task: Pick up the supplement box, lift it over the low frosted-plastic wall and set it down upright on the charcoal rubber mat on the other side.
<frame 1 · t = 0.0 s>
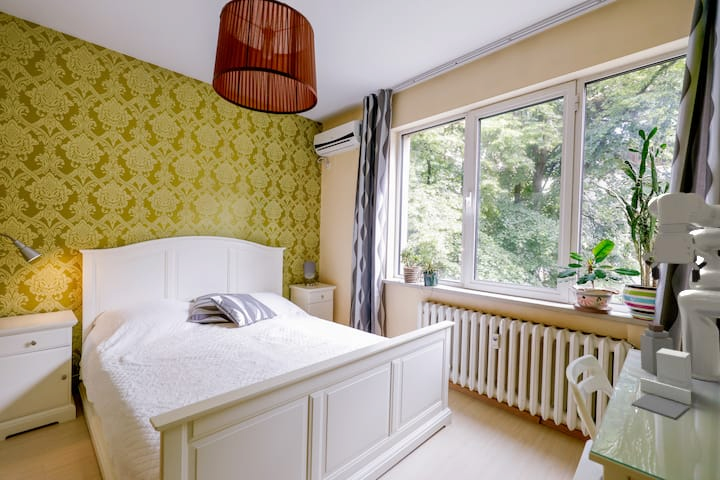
hand: (675, 280, 109), 37 cm above the table, tool pointing down, fingers open, 9 cm apart
frosted wall: (664, 396, 105), on the table
supplement box: (674, 390, 109), on the table
charcoal mat: (660, 406, 99), on the table
perfume bottle: (657, 372, 125), on the table
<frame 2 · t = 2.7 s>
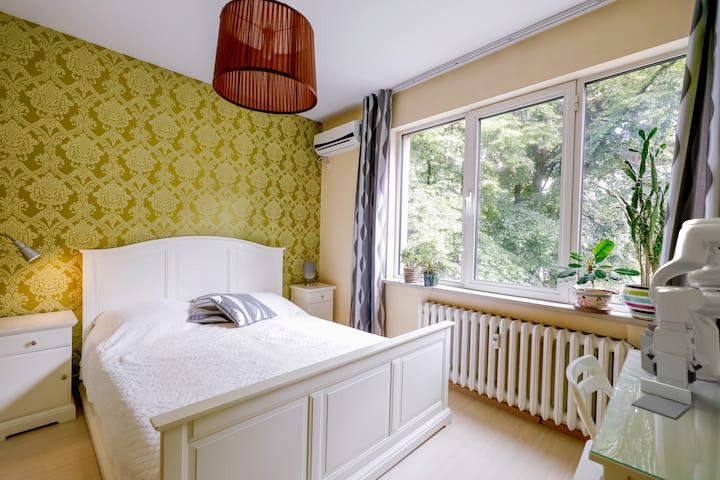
hand: (674, 378, 109), 4 cm above the table, tool pointing down, fingers closed on supplement box, 7 cm apart
supplement box: (674, 390, 109), on the table, touching gripper
everything else where it was.
when the fingers open (6 cm above the table, at t = 9.5 s): supplement box drops 2 cm, resting on charcoal mat.
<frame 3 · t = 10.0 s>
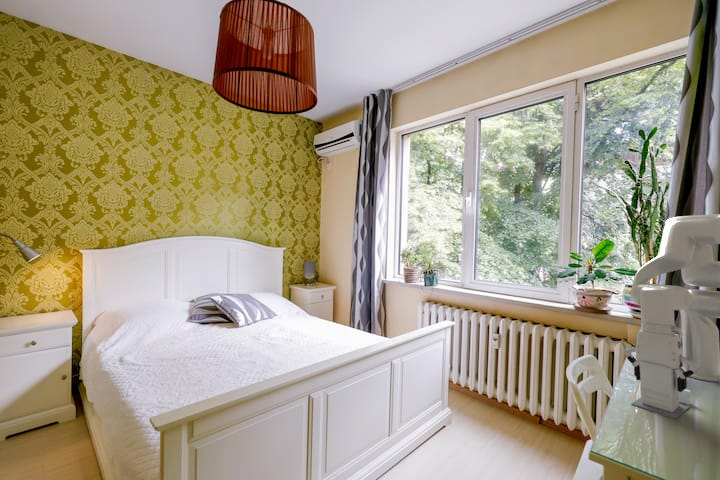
hand: (659, 384, 99), 6 cm above the table, tool pointing down, fingers open, 9 cm apart
supplement box: (659, 405, 99), resting on charcoal mat
everything else where it was.
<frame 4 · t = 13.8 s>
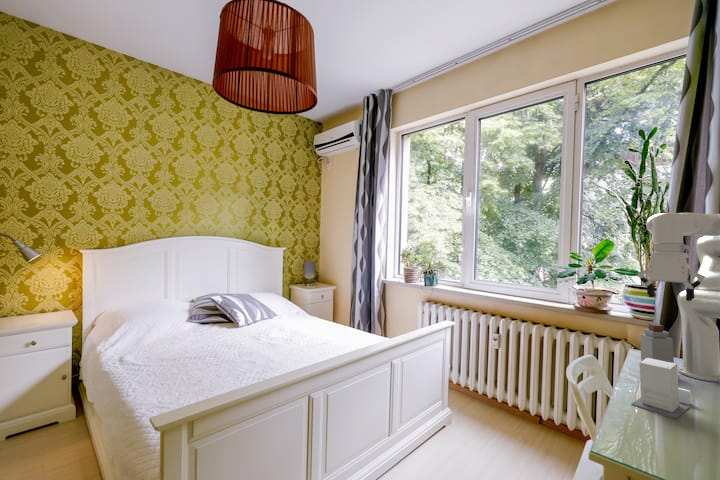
hand: (669, 298, 112), 30 cm above the table, tool pointing down, fingers open, 9 cm apart
nothing on the table moved.
at the end: supplement box 0.3 cm off-centre on the charcoal mat, point 0.2 cm above the charcoal mat's base; supplement box tilted 0°; the gripper is holding nothing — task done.
